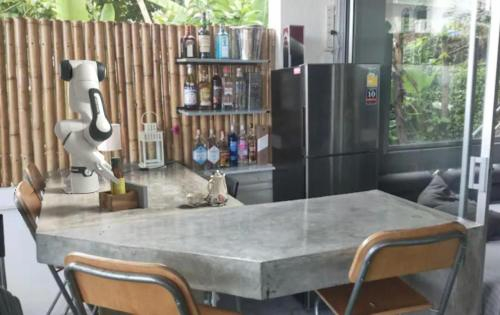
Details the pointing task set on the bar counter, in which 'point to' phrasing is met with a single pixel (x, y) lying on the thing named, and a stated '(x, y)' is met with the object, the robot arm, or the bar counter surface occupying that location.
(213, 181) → the chinaware
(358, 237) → the bar counter surface
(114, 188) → the sauce bottle
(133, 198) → the wooden box
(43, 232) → the bar counter surface
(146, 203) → the backstop wall
